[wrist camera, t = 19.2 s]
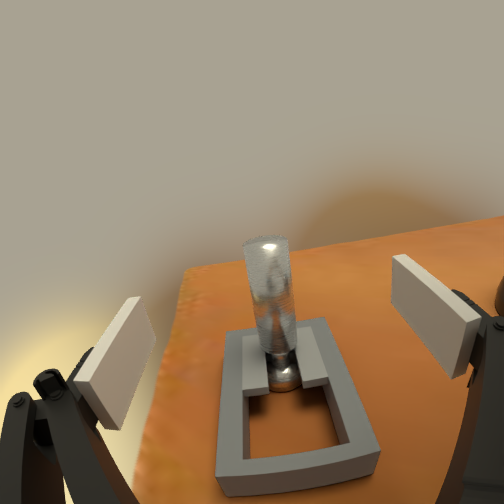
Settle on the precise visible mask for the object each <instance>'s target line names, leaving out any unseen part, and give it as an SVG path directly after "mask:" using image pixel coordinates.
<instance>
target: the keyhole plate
mask: <svg viewBox="0 0 504 504" xmlns="http://www.w3.org/2000/svg"><path fill="white" fill-rule="evenodd" d="M296 326H297V337H298V343H297V345H296V347H295V348H294V349H292V350H291V351H295V355H296V359H297V364H298V368H299V372H300V376H301V381H302V385H303V389H304V388H310V387H315V386H321V385H322V386H323V389H324V393H325V396H326V399H327V402H328V406H329V409H330V412H331V416H332V419H333V422H334V426H335V429H336V433H337V436H338V440H339V443H340V445H338V446H334V447H329V448H324V449H319V450H314V451H308V452H302V453H296V454H290V455H283V456H275V457H266V458H257V459H250V433H249V396H257V395H265V394H270V393H269V384H268V374H267V364H266V355H267V354H269V353H266V352H264V351H263V350H262V349H261V348H260V344H259V338H258V332H257V328H250V329H243V330H235V331H227V332H226V340H225V351H224V363H223V375H222V388H221V400H220V413H219V427H218V441H217V455H216V471H215V477H216V479H217V481H218V483H219V484H220V486H221V488H222V489H223V491H224V493H225V495H226V496H227V497H231V496H251V495H263V494H273V493H282V492H290V491H297V490H303V489H309V488H315V487H320V486H325V485H330V484H334V483H339V482H343V481H347V480H351V479H355V478H359V477H363V476H366V475H370V474H373V473H374V470H375V467H376V464H377V461H378V458H379V455H380V452H381V449H380V447H379V444H378V442H377V439H376V437H375V434H374V432H373V429H372V427H371V424H370V422H369V419H368V417H367V414H366V412H365V410H364V407H363V405H362V402H361V400H360V398H359V395H358V393H357V390H356V388H355V386H354V383H353V381H352V379H351V376H350V374H349V372H348V369H347V367H346V365H345V362H344V360H343V358H342V356H341V353H340V351H339V349H338V346H337V344H336V342H335V340H334V337H333V335H332V333H331V331H330V329H329V326H328V324H327V322H326V320H325V318H324V317H320V318H315V319H309V320H303V321H297V322H296Z"/></svg>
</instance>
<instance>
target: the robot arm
mask: <svg viewBox="0 0 504 504" xmlns="http://www.w3.org/2000/svg"><path fill="white" fill-rule="evenodd" d="M391 303H392V305H393V306H394V307H395V308H396V309H397V311H398V312H399V313H400V314H401V316H402V317H403V318H404V319H405V320H406V322H407V323H408V324H409V325H410V327H411V328H412V329H413V330H414V332H415V333H416V334H417V335H418V337H419V338H420V339H421V340H422V342H423V343H424V344H425V346H426V347H427V348H428V349H429V351H430V352H431V353H432V355H433V356H434V357H435V358H436V360H437V361H438V362H439V364H440V365H441V366H442V368H443V369H444V370H445V372H446V373H447V375H448V376H449V377H450V379H454V378H456V377H458V376H461V375H463V374H465V373H466V370H467V367H468V364H469V362H470V363H471V365H472V366H473V367H474V369H473V371H472V374H471V377H470V380H469V382H468V385H467V387H468V388H469V392H468V398H467V403H466V408H465V412H464V417H463V421H462V425H461V429H460V433H459V436H458V440H457V444H456V447H455V450H454V454H453V457H452V460H451V463H450V466H449V469H448V472H447V475H446V478H445V480H444V483H443V486H442V488H441V491H440V493H439V496H438V498H437V501H436V503H435V504H504V276H503V278H502V280H501V282H500V284H499V286H498V289H497V294H496V299H495V306H496V309H497V311H498V313H499V314H500V316H495V317H491V316H490V315H489V314H487V313H486V312H485V311H484V310H483V309H482V308H480V307H479V306H478V305H477V304H475V303H474V302H473V301H472V300H470V298H468V297H467V296H466V295H465V294H463V293H462V292H459V291H457V290H454V289H453V290H450V289H449V288H447V287H446V286H445V285H444V284H442V283H441V282H440V281H439V280H438V279H436V278H435V277H434V276H433V275H431V274H430V273H429V272H427V271H426V270H425V269H424V268H422V267H421V266H420V265H419V264H417V263H416V262H415V261H413V260H412V259H411V258H409V257H408V256H407V255H405V254H402V255H397V256H392V288H391ZM155 342H156V337H155V335H154V332H153V329H152V327H151V324H150V321H149V318H148V315H147V313H146V310H145V307H144V304H143V301H142V298H141V297H140V296H139V297H132V298H128V299H127V301H126V302H125V303H124V305H123V306H122V308H121V309H120V310H119V312H118V313H117V315H116V316H115V318H114V319H113V320H112V322H111V323H110V325H109V326H108V328H107V329H106V331H105V332H104V334H103V335H102V337H101V338H100V340H99V341H98V343H97V344H96V346H95V347H92V348H90V349H89V350H88V351H87V352H86V353H84V355H83V356H82V358H81V359H80V362H78V364H77V365H76V368H74V370H73V371H72V373H71V375H70V376H69V378H68V379H67V381H66V382H65V380H64V379H63V377H62V375H61V374H60V372H59V371H58V370H57V369H48V370H45V371H43V372H41V373H40V374H39V375H38V376H37V377H36V378H35V380H34V382H33V386H34V387H35V389H36V390H37V392H38V393H39V395H40V396H41V398H42V399H40V400H33V399H32V398H31V396H30V395H29V393H27V392H20V393H17V394H15V395H14V396H13V397H12V398H11V399H10V400H9V402H8V405H7V409H6V413H5V418H4V422H3V427H2V433H1V438H0V504H66V501H65V492H64V482H63V476H64V479H65V482H66V485H67V488H68V490H69V492H70V495H71V498H72V500H73V503H74V504H140V503H139V502H138V500H137V499H136V497H135V496H134V494H133V492H132V491H131V489H130V488H129V486H128V484H127V483H126V481H125V479H124V478H123V476H122V474H121V472H120V471H119V469H118V467H117V465H116V464H115V462H114V460H113V458H112V456H111V454H110V452H109V450H108V448H107V446H106V444H105V443H104V440H103V438H102V436H101V434H100V432H99V431H98V429H97V428H96V424H97V422H98V420H99V421H100V423H101V424H102V426H103V427H104V428H105V429H109V430H121V427H122V425H123V422H124V419H125V417H126V414H127V411H128V409H129V406H130V404H131V401H132V398H133V396H134V393H135V391H136V388H137V385H138V383H139V381H140V378H141V376H142V373H143V371H144V368H145V366H146V363H147V361H148V358H149V356H150V354H151V351H152V349H153V346H154V344H155Z"/></svg>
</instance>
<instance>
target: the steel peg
mask: <svg viewBox="0 0 504 504" xmlns="http://www.w3.org/2000/svg"><path fill="white" fill-rule="evenodd" d="M243 249H244V254H245V261H246V267H247V273H248V279H249V285H250V291H251V297H252V303H253V309H254V315H255V320H256V326H257V332H258V338H259V344H260V348H261V349H262V350H263V351H264V352H266V353H269V354H267V355H266V364H267V374H268V384H269V389H270V390H272V391H277V392H284V391H289V390H292V389H295V388H296V387H298V386H299V385H300V384H301V383H302V381H301V376H300V372H299V368H298V364H297V359H296V355H295V351H291V350H292V349H294V348H295V347H296V345H297V343H298V337H297V326H296V315H295V305H294V295H293V286H292V276H291V267H290V258H289V249H288V241H287V238H286V237H284V236H278V235H269V236H261V237H256V238H253V239H250V240H248V241H246V242H245V243H244V244H243Z"/></svg>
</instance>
